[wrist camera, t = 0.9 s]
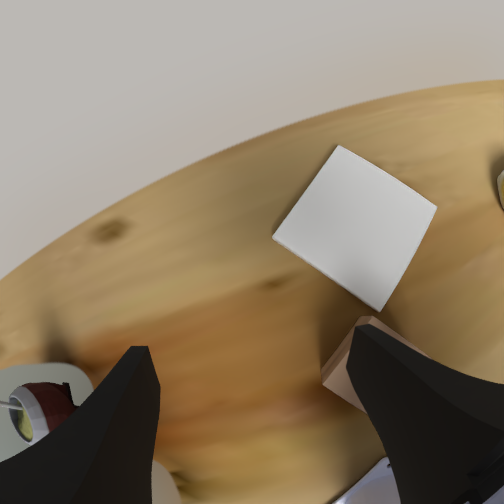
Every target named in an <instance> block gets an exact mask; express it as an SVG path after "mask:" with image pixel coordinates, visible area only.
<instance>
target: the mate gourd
mask: <svg viewBox="0 0 504 504" xmlns="http://www.w3.org/2000/svg"><path fill="white" fill-rule="evenodd" d="M62 384H63V385H59V384H55V383H50V382H41V383H27V384H24V385H22V386H19V387H17V388H16V389H15V390H14V391H13V392H12V393H11V395H10V396H9V400H8V402H3V401H0V406H1V407H7V408H8V411H9V415H10V419H11V421H12V424H13V426H14V428H15V430H16V432H17V433H18V435H19V436H20V437H21V438H22V439H23V440H24V442H26V443H28V444H30V445H33V444H35V443H36V442H38V441H39V440H40V439H42V438H43V437H44V436H46V435H47V434H48V433H50V432H51V431H52V430H54V429H55V428H56V427H58V426H59V425H60V424H61V423H62V422H63V421H65V420H66V419H67V418H68V417H69V416H70V415H71V414H72V413H73V412H74V411H75V410H76V409H77V408H78V407H79V406H76V405H74V404H73V400H72V396H71V391H70V386H69V383H64V382H63V383H62Z"/></svg>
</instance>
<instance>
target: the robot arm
mask: <svg viewBox="0 0 504 504" xmlns="http://www.w3.org/2000/svg"><path fill="white" fill-rule="evenodd" d="M346 370H347V372H348V375H349V378H350V381H351V383H352V386H353V388H354V390H355V392H356V394H357V396H358V398H359V400H360V402H361V403H362V405H363V407H364V409H365V411H366V412H367V414H368V416H369V418H370V420H371V421H372V423H373V425H374V427H375V429H376V431H377V432H378V434H379V437H380V439H381V441H382V443H383V446H384V448H385V451H386V454H387V456H388V457H385V458H382V459H381V460H380V461H379V462H378V463H377V464H376V465H375V466H374V467H373V468H372V469H371V470H370V471H369V472H368V473H367V474H366V475H365V476H364V477H363V478H362V479H361V480H359V481H358V482H357V483H356V484H355V485H354V486H353V487H352V488H350V489H349V490H348V491H347V492H346V493H345V494H343V495H342V496H341V497H340V498H339V499H337V500H336V501H335V502H334V503H332V504H504V384H498V383H494V382H489V381H485V380H482V379H479V378H475V377H472V376H469V375H466V374H463V373H461V372H458V371H456V370H453V369H451V368H449V367H446V366H444V365H442V364H440V363H438V362H436V361H434V360H432V359H430V358H428V357H426V356H425V355H423V354H421V353H419V352H417V351H416V350H414V349H412V348H410V347H409V346H407V345H405V344H404V343H402V342H400V341H399V340H397V339H395V338H394V337H392V336H390V335H389V334H387V333H385V332H384V331H382V330H380V329H379V328H377V327H375V326H373V325H371V324H365V325H359V326H355V329H354V333H353V338H352V343H351V347H350V351H349V355H348V360H347V364H346ZM159 412H160V384H159V381H158V378H157V375H156V372H155V368H154V365H153V362H152V358H151V355H150V352H149V348H148V346H131V347H130V348H129V349H128V350H127V352H126V353H125V354H124V355H123V356H122V358H121V359H120V360H119V361H118V363H117V364H116V365H115V366H114V367H113V369H112V370H111V371H110V372H109V374H108V375H107V376H106V377H105V378H104V380H103V381H102V382H101V383H100V384H99V386H98V387H97V388H96V389H95V390H94V391H93V392H92V394H91V395H90V396H89V397H88V398H87V399H86V400H85V401H84V402H83V403H82V404H81V406H79V407H78V408H77V409H76V410H75V411H74V412H73V413H72V414H71V415H70V416H69V417H68V418H67V419H66V420H65V421H63V422H62V423H61V424H60V425H59V426H58V427H56V428H55V429H54V430H52V431H51V432H50V433H48V434H47V435H46V436H44V437H43V438H42V439H40V440H39V441H38V442H36V443H35V444H33V445H32V446H30V447H28V448H27V449H25V450H24V451H22V452H20V453H18V454H16V455H15V456H13V457H11V458H9V459H7V460H4V461H2V462H0V504H152V489H151V471H152V460H153V453H154V446H155V439H156V432H157V426H158V419H159ZM388 464H390V466H387V465H388Z"/></svg>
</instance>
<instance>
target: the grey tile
mask: <svg viewBox="0 0 504 504" xmlns="http://www.w3.org/2000/svg"><path fill="white" fill-rule="evenodd" d="M436 209H437V206H435V205H434V204H433V203H431V202H430V201H428V200H427V199H426V198H424V197H423V196H421V195H420V194H418V193H417V192H415V191H414V190H413V189H411V188H410V187H408V186H407V185H405V184H404V183H402V182H401V181H399V180H397V179H396V178H394V177H393V176H391V175H390V174H388V173H386V172H385V171H383V170H382V169H380V168H378V167H377V166H375V165H373V164H372V163H370V162H368V161H367V160H365V159H363V158H361V157H360V156H358V155H356V154H354V153H353V152H351V151H349V150H347V149H345V148H343V147H342V146H340V145H338V146H337V148H336V149H335V151H334V152H333V153H332V155H331V156H330V158H329V159H328V160H327V162H326V163H325V164H324V166H323V167H322V169H321V170H320V171H319V173H318V174H317V176H316V177H315V178H314V180H313V181H312V183H311V184H310V185H309V187H308V188H307V189H306V191H305V192H304V194H303V195H302V196H301V198H300V199H299V200H298V202H297V203H296V205H295V206H294V207H293V209H292V210H291V212H290V213H289V214H288V216H287V217H286V218H285V220H284V221H283V223H282V224H281V225H280V227H279V228H278V229H277V231H276V232H275V234H274V235H273V236H272V238H273V240H274V241H276V242H277V243H279V244H280V245H282V246H283V247H285V248H286V249H288V250H289V251H291V252H292V253H294V254H295V255H297V256H298V257H299V258H301V259H302V260H304V261H305V262H307V263H308V264H310V265H311V266H313V267H314V268H315V269H317V270H318V271H320V272H321V273H323V274H324V275H326V276H327V277H328V278H330V279H331V280H333V281H334V282H336V283H337V284H338V285H340V286H341V287H343V288H344V289H346V290H347V291H348V292H350V293H351V294H353V295H354V296H356V297H357V298H358V299H360V300H361V301H363V302H364V303H365V304H367V305H368V306H370V307H371V308H372V309H374V310H375V311H377V312H380V311H381V310H382V308H383V307H384V305H385V304H386V302H387V300H388V299H389V297H390V296H391V294H392V292H393V291H394V289H395V287H396V286H397V284H398V282H399V281H400V279H401V277H402V275H403V274H404V272H405V270H406V268H407V267H408V265H409V263H410V261H411V259H412V257H413V256H414V254H415V252H416V250H417V248H418V246H419V244H420V242H421V240H422V238H423V236H424V234H425V232H426V230H427V228H428V226H429V224H430V222H431V220H432V218H433V216H434V214H435V211H436Z"/></svg>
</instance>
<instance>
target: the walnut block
mask: <svg viewBox="0 0 504 504" xmlns="http://www.w3.org/2000/svg"><path fill="white" fill-rule="evenodd" d="M365 324H371V325H373V326H375V327H377V328H379V329H380V330H382V331H384V332H385V333H387V334H389V335H390V336H392V337H394V338H395V339H397V340H399V341H400V342H402V343H404V344H405V345H407V346H409V347H410V348H412V349H414V350H416V351H417V352H419V353H421V354H423V355H425V356H426V357H428V358H430V359H432V358H431V357H429V356H428V355H427V354H425V353H424V352H422V351H421V350H420V349H418V348H417V347H416V346H414V345H413V344H411V343H410V342H409V341H407V340H406V339H405V338H403V337H402V336H400V335H399V334H398V333H396V332H395V331H393V330H392V329H391V328H389V327H388V326H386V325H385V324H384V323H382V322H381V321H379V320H378V319H377V318H375V317H374V316H360V317H359V318H358V320H357V321H356V323H355V324H354V326H353V327H352V328H351V330H350V331H349V333H348V334H347V335H346V337H345V338H344V340H343V341H342V342H341V344H340V345H339V346H338V348H337V349H336V350H335V352H334V353H333V354H332V356H331V357H330V358H329V360H328V361H327V362H326V364H325V365H324V366H323V367H322V369H321V376H322V385H324V386H325V387H327V388H328V389H330V390H331V391H333V392H334V393H335V394H337V395H338V396H340V397H341V398H343V399H344V400H346V401H347V402H349V403H351V404H352V405H354V406H355V407H357V408H358V409H360V410H361V411H363V412H364V413H366V414H367V412H366V411H365V409H364V407H363V405H362V403H361V402H360V400H359V398H358V396H357V394H356V392H355V390H354V388H353V386H352V383H351V381H350V378H349V375H348V372H347V370H346V364H347V360H348V355H349V351H350V347H351V343H352V338H353V333H354V329H355V326H359V325H365Z"/></svg>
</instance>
